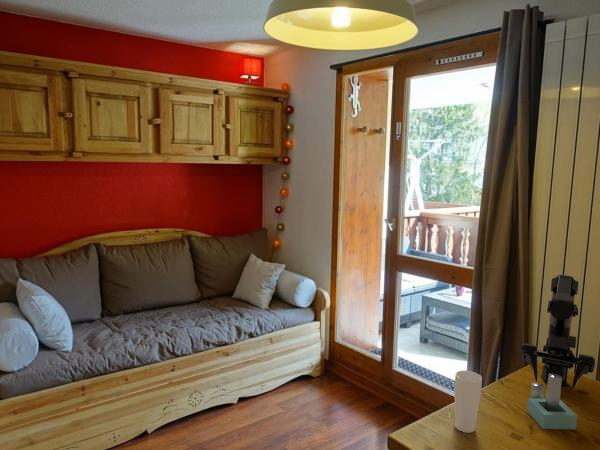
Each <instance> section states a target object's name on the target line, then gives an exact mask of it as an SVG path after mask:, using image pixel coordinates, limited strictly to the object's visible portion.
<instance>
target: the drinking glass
mask: <svg viewBox="0 0 600 450" xmlns="http://www.w3.org/2000/svg"><path fill="white" fill-rule="evenodd" d="M482 381H483V377H482V376H481V375H480V374H478V373H477V372H474V371H471V370H458V371H456V373H455V377H454V388H453V389H454V393H453V394H454V395H453V396H454V427H455V428H456V430H458V431H460V432H461V431H462V433H468V434H471V433H474V431H476V427H477V417H478V413H479V406H480V401H481V396H482V395H481V394H482V385H483V384H482V383H483V382H482Z"/></svg>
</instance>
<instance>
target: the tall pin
mask: <svg viewBox="0 0 600 450" xmlns="http://www.w3.org/2000/svg"><path fill="white" fill-rule="evenodd" d="M546 383H547V382H546ZM561 384H562V377H561V376H560V375H557V374H548V383H547V384H546V394H545V399H546V403H545V410H546V411H547V412H559V403H560V400H561V392H562V385H561Z"/></svg>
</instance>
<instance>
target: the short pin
mask: <svg viewBox="0 0 600 450" xmlns="http://www.w3.org/2000/svg"><path fill="white" fill-rule="evenodd" d="M530 386H531V387H530V388H531V389H530V396H529V397H530V398H535V399H544V393H545V391H544V390H545V385H544V384H543V383H540V382H531V385H530Z"/></svg>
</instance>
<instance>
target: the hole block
mask: <svg viewBox="0 0 600 450" xmlns="http://www.w3.org/2000/svg"><path fill="white" fill-rule="evenodd" d="M545 403H546V398H543V399H535V398H527V408H526V409H527V410H526V412H527V413H528V414H529V415H530V417H532V418H533V420H534V421H535V422H537V424H538V425H539V426H540V428H542V429H543V430H577V422H578V415H577V414H576V413H575V412H574V411H573V410H572V409H571V408H570V407H569V406H568V405H566V403H564V402H563V401H562V400H561V399H560V403H559V412H547V411H546V410H545Z"/></svg>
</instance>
